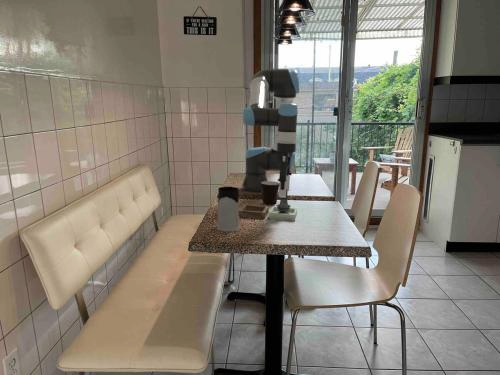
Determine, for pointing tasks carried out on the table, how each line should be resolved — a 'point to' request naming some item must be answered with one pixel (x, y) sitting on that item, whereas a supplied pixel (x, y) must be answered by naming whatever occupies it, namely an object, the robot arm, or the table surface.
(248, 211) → the walnut holder
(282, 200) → the marbled chess piece
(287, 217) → the sage tray
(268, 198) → the coffee mug
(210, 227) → the table surface
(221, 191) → the white and black cylinder
